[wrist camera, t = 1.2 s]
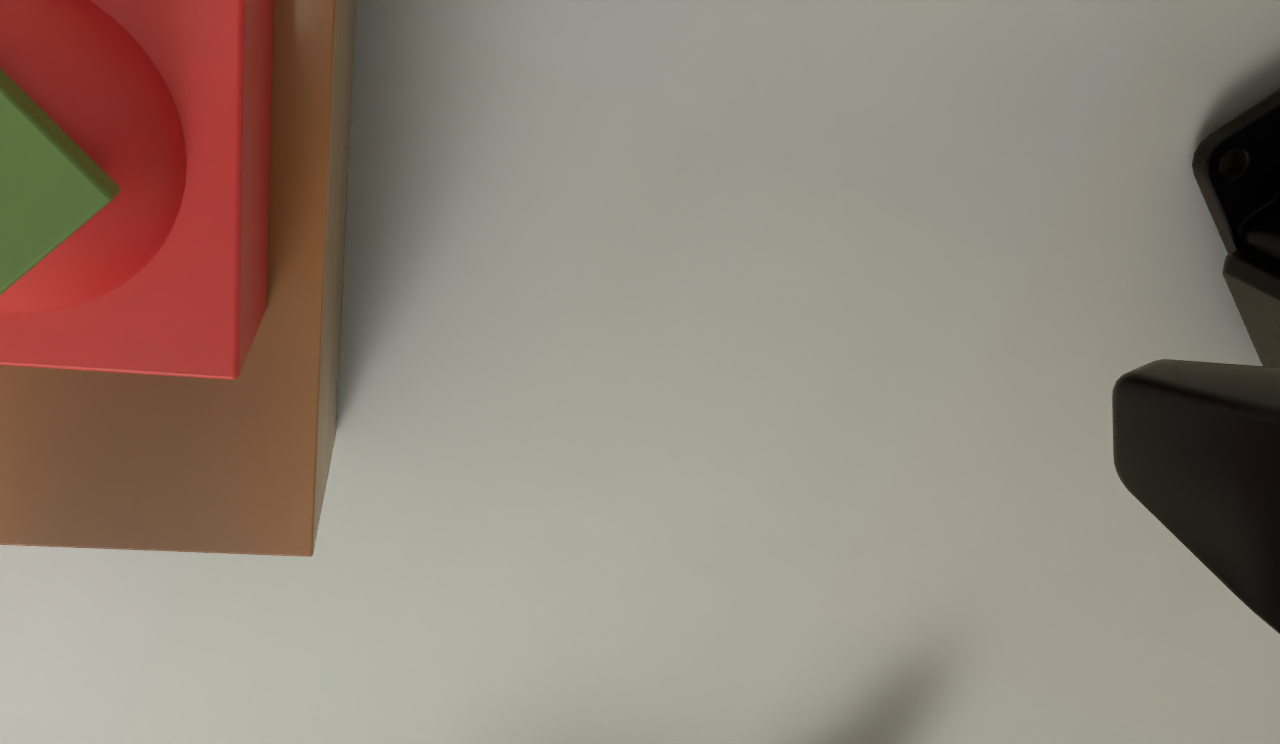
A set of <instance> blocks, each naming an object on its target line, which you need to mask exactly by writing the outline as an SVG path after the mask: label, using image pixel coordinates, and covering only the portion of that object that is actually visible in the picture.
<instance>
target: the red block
mask: <svg viewBox="0 0 1280 744" xmlns="http://www.w3.org/2000/svg"><path fill="white" fill-rule="evenodd" d="M273 16H274V0H0V365H7V366H23V367H39V368H54V369H70V370H86V371H101V372H117V373H132V374H148V375H164V376H179V377H195V378H210V379H226V380H234V379H237V378H238V377H239V375H240V372H241V370H242V367H243V365H244V362H245V360H246V357H247V355H248V352H249V350H250V348H251V345H252V343H253V340H254V338H255V335H256V333H257V330H258V328H259V325H260V323H261V321H262V318H263V316H264V313H265V311H266V305H267V263H268V222H269V181H270V140H271V99H272V57H273Z"/></svg>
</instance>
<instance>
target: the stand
mask: <svg viewBox="0 0 1280 744" xmlns="http://www.w3.org/2000/svg"><path fill="white" fill-rule="evenodd" d="M355 12H356V0H274V16H273V57H272V99H271V140H270V181H269V222H268V263H267V305H266V311H265V313H264V316H263V318H262V321H261V323H260V325H259V328H258V330H257V333H256V335H255V338H254V340H253V343H252V345H251V348H250V350H249V352H248V355H247V357H246V360H245V362H244V365H243V367H242V370H241V372H240V375H239V377H238V378H237V379H234V380H226V379H210V378H195V377H179V376H164V375H148V374H132V373H117V372H101V371H86V370H70V369H54V368H39V367H23V366H7V365H0V545H23V546H49V547H75V548H101V549H127V550H153V551H179V552H204V553H230V554H256V555H282V556H308V557H310V556H312V555H313V552H314V547H315V540H316V535H317V529H318V524H319V519H320V514H321V509H322V503H323V498H324V493H325V488H326V482H327V477H328V472H329V467H330V462H331V456H332V451H333V446H334V441H335V434H336V413H337V392H338V371H339V350H340V329H341V308H342V287H343V266H344V245H345V223H346V202H347V181H348V160H349V139H350V118H351V97H352V76H353V55H354V34H355Z"/></svg>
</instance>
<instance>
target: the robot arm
mask: <svg viewBox="0 0 1280 744" xmlns="http://www.w3.org/2000/svg"><path fill="white" fill-rule="evenodd" d="M1230 150H1233V160H1232V163H1231V165H1230V166H1229V167H1228V168H1227V169H1226V170H1225V171H1224V172H1221V173H1220V170H1219V163H1220V161H1221V158H1222V157H1223V156H1224V155H1225V154H1226V153H1227V152H1228V151H1230ZM1192 166H1193V172H1194V176H1195V178H1196V180H1197V183H1198V185H1199V187H1200V190H1201V192H1202V194H1203V197H1204V199H1205V201H1206V204H1207V206H1208V208H1209V211H1210V213H1211V215H1212V218H1213V220H1214V222H1215V225H1216V227H1217V229H1218V231H1219V234H1220V236H1221V238H1222V241H1223V243H1224V245H1225V248H1226V250H1227V252H1228V255H1227V256H1226V258H1225V262H1224V268H1223V276H1224V278H1225V280H1226V283H1227V285H1228V287H1229V290H1230V292H1231V294H1232V296H1233V299H1234V301H1235V303H1236V306H1237V308H1238V310H1239V312H1240V315H1241V317H1242V319H1243V322H1244V324H1245V326H1246V328H1247V331H1248V333H1249V335H1250V338H1251V340H1252V342H1253V344H1254V347H1255V349H1256V351H1257V354H1258V356H1259V358H1260V360H1261V363H1262V365H1263V367H1262V366H1249V365H1235V364H1222V363H1209V362H1195V361H1182V360H1169V359H1162V360H1157V361H1153V362H1151V363H1148V364H1146V365H1144V366H1141V367H1139V368H1137V369H1135V370H1132V371H1130V372H1128V373H1126V374H1124V375H1122V376H1121V377H1120V378H1119V379H1118V380H1117V381H1116V383H1115V386H1114V389H1113V394H1112V408H1113V453H1114V464H1115V467H1116V471H1117V473H1118V475H1119V477H1120V479H1121V481H1122V482H1123V484H1124V485H1125V487H1126V488H1127V489H1128V490H1129V491H1130V492H1131V493H1132V494H1133V495H1134V496H1135V497H1136V498H1137V499H1138V500H1139V501H1140V502H1141V503H1142V504H1143V505H1144V506H1145V507H1146V508H1147V509H1148V510H1149V511H1150V512H1151V513H1152V514H1153V515H1154V516H1155V517H1156V518H1157V519H1158V520H1159V521H1160V522H1161V523H1162V524H1163V525H1164V526H1165V527H1166V528H1167V529H1168V530H1169V531H1170V532H1172V533H1173V534H1174V535H1175V536H1176V537H1177V538H1178V539H1179V540H1180V541H1181V542H1182V543H1183V544H1184V545H1185V546H1186V547H1187V548H1188V549H1189V550H1190V551H1191V552H1192V553H1193V554H1194V555H1195V556H1196V557H1197V558H1198V559H1199V560H1200V561H1201V562H1202V563H1203V564H1204V565H1205V566H1206V567H1207V568H1208V569H1209V570H1210V571H1211V572H1212V573H1213V574H1214V575H1215V576H1217V577H1218V578H1219V579H1220V580H1221V581H1222V582H1223V583H1224V584H1225V585H1226V586H1227V587H1228V588H1229V589H1230V590H1231V591H1232V592H1233V593H1234V594H1235V595H1236V596H1237V597H1238V598H1239V599H1240V600H1241V601H1243V602H1244V603H1245V604H1246V605H1247V606H1248V607H1249V608H1250V609H1251V610H1252V611H1253V612H1254V613H1256V614H1257V615H1258V616H1259V617H1260V618H1261V619H1263V620H1264V621H1265V622H1266V623H1267V624H1269V625H1270V626H1271V627H1272V628H1273V629H1274V630H1276V631H1277V632H1278V633H1279V634H1280V90H1279V91H1277V92H1276V93H1274V94H1273V95H1271V96H1269V97H1268V98H1266V99H1265V100H1263V101H1262V102H1260V103H1258V104H1257V105H1255V106H1254V107H1252V108H1251V109H1249V110H1248V111H1246V112H1244V113H1243V114H1241V115H1240V116H1238V117H1237V118H1235V119H1233V120H1232V121H1230V122H1229V123H1227V124H1226V125H1224V126H1223V127H1221V128H1219V129H1218V130H1216V131H1215V132H1213V133H1212V134H1210V135H1209V136H1208V137H1206V138H1205V139H1204V140H1203V141H1202V142H1201V143H1200V145H1199V146H1198V148H1197V150H1196V151H1195V153H1194V158H1193V163H1192Z"/></svg>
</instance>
